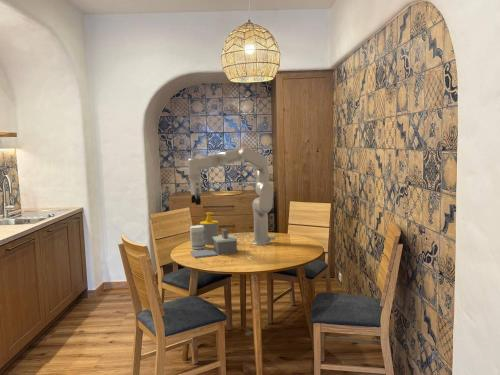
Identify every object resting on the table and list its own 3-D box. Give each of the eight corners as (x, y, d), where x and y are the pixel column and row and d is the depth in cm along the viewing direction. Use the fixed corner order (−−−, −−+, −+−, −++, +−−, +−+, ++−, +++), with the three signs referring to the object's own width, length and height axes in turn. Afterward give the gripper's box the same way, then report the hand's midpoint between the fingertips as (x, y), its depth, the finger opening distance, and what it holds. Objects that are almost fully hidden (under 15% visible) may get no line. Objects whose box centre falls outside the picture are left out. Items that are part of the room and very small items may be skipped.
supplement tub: (207, 248, 280) (206, 226, 279) (194, 250, 275) (193, 228, 274) (201, 245, 288) (200, 224, 287) (188, 247, 283) (187, 226, 282)
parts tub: (231, 248, 277) (231, 236, 276) (236, 252, 265) (236, 240, 265) (213, 250, 273) (213, 238, 272) (218, 255, 262) (217, 242, 261)
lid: (231, 238, 277) (231, 226, 276) (237, 242, 264) (237, 230, 264) (212, 240, 273) (212, 228, 272) (217, 244, 260) (216, 232, 260)
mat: (212, 250, 274) (212, 249, 274) (217, 255, 260) (217, 254, 260) (190, 252, 269) (190, 251, 269) (194, 258, 256) (194, 256, 256)
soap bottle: (220, 244, 291) (218, 213, 289) (201, 245, 289) (199, 214, 287) (218, 239, 304) (217, 210, 302) (200, 241, 302) (199, 211, 300)
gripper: (204, 177, 264) (205, 204, 266) (196, 176, 280) (198, 201, 282) (192, 178, 261) (194, 205, 263) (185, 176, 277) (187, 202, 279)
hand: (196, 203), depth 272 cm, fingers open, 9 cm apart
